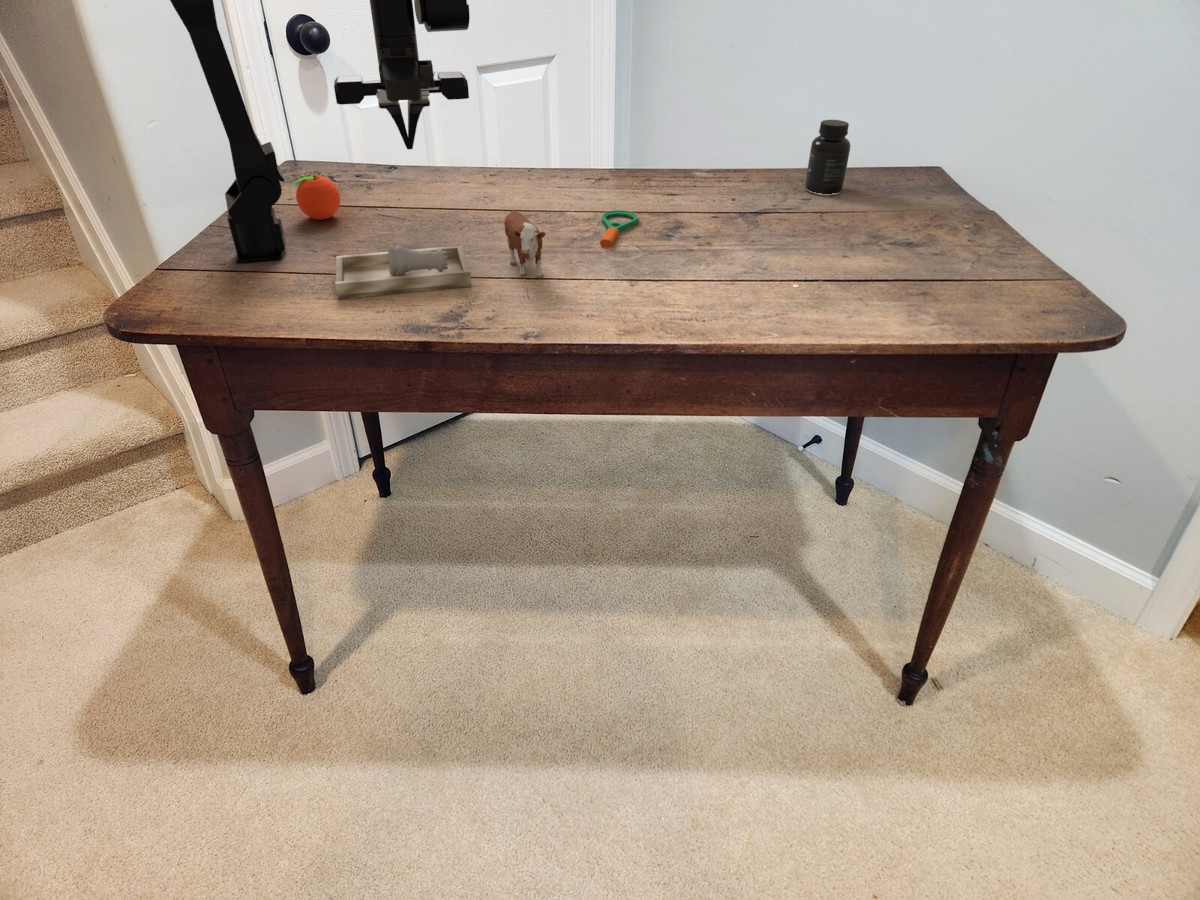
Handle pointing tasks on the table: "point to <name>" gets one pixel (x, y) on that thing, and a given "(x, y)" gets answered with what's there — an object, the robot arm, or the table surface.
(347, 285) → the tray
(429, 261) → the rook chess piece
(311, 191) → the clementine
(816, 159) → the supplement bottle
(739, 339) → the table surface
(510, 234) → the bull figurine
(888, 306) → the table surface
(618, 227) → the magnifying glass
